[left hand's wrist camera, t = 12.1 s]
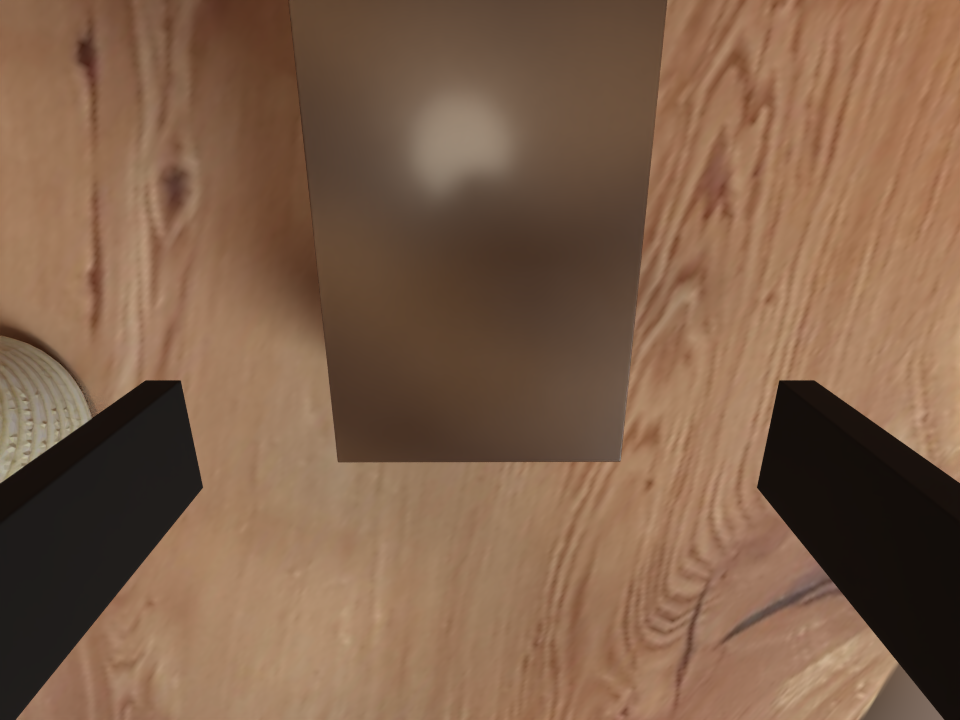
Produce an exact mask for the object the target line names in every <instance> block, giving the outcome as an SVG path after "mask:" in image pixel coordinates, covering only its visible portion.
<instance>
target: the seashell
mask: <svg viewBox="0 0 960 720" xmlns="http://www.w3.org/2000/svg"><path fill="white" fill-rule="evenodd" d="M90 419H92V417H91V413H90V409H89V406H88V404H87V402H86V399H85V396H84V395H83V393H82V391H81V390H80V388H79V387H78V385H77V383H76V381H75V380H74V379H73V378H72V376H71V375H70V374H69V373H68V371H67V370H66V369H65V368H64V367H63V366H62V365H61V364H59V363H58V362H57V361H56V360H54V359H53V358H52V357H50V356H49V355H48V354H46V353H45V352H43V351H42V350H40V349H38V348H36V347H33V346H32V345H30V344H28V343H25V342H22V341H19V340H16V339H13V338H9V337H5V336H0V483H1V482H3V481H4V480H6V479H7V478H8V477H10V476H11V475H13V474H14V473H15V472H17V471H18V470H20V469H21V468H23V467H24V466H25V465H27V464H28V463H30V462H31V461H32V460H34V459H35V458H37V457H38V456H39V455H41V454H42V453H44V452H45V451H47V450H48V449H49V448H51V447H52V446H54V445H55V444H56V443H58V442H59V441H61V440H62V439H64V438H65V437H66V436H68V435H69V434H71V433H72V432H73V431H75V430H76V429H78V428H79V427H81V426H82V425H83V424H85V423H86V422H88V421H89V420H90Z"/></svg>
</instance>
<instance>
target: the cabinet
mask: <svg viewBox="0 0 960 720" xmlns="http://www.w3.org/2000/svg"><path fill="white" fill-rule="evenodd" d="M666 7H667V0H289V10H290V19H291V28H292V38H293V47H294V56H295V66H296V75H297V85H298V94H299V103H300V113H301V122H302V131H303V141H304V150H305V159H306V169H307V178H308V187H309V197H310V206H311V215H312V225H313V234H314V243H315V253H316V262H317V271H318V281H319V290H320V299H321V309H322V318H323V328H324V337H325V346H326V356H327V365H328V374H329V384H330V393H331V402H332V412H333V421H334V430H335V440H336V449H337V458H338V462H620V461H621V452H622V443H623V433H624V423H625V413H626V403H627V393H628V383H629V373H630V363H631V354H632V344H633V334H634V324H635V314H636V304H637V294H638V284H639V274H640V265H641V255H642V245H643V235H644V225H645V215H646V205H647V195H648V185H649V176H650V166H651V156H652V146H653V136H654V126H655V116H656V106H657V96H658V87H659V77H660V67H661V57H662V47H663V37H664V27H665V17H666Z"/></svg>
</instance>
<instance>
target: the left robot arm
mask: <svg viewBox="0 0 960 720" xmlns="http://www.w3.org/2000/svg"><path fill="white" fill-rule="evenodd" d="M202 488H203V485H202V481H201V476H200V471H199V466H198V461H197V457H196V452H195V447H194V442H193V437H192V433H191V428H190V423H189V418H188V413H187V409H186V404H185V399H184V394H183V389H182V385H181V381H144V382H143V383H141V384H140V385H139V386H137V387H136V388H134V389H133V390H132V391H130V392H129V393H127V394H126V395H124V396H123V397H122V398H120V399H119V400H117V401H116V402H115V403H113V404H112V405H110V406H109V407H107V408H106V409H105V410H103V411H102V412H100V413H99V414H98V415H96V416H95V417H93V418H92V419H90V420H89V421H88V422H86V423H85V424H83V425H82V426H81V427H79V428H78V429H76V430H75V431H73V432H72V433H71V434H69V435H68V436H66V437H65V438H64V439H62V440H61V441H59V442H58V443H56V444H55V445H54V446H52V447H51V448H49V449H48V450H47V451H45V452H44V453H42V454H41V455H39V456H38V457H37V458H35V459H34V460H32V461H31V462H30V463H28V464H27V465H25V466H24V467H23V468H21V469H20V470H18V471H17V472H15V473H14V474H13V475H11V476H10V477H8V478H7V479H6V480H4V481H3V482H1V483H0V720H16V719H17V717H18V716H19V715H20V714H21V712H22V711H23V710H24V709H25V707H26V706H27V705H28V704H29V702H30V701H31V700H32V699H33V698H34V696H35V695H36V694H37V693H38V691H39V690H40V689H41V688H42V686H43V685H44V684H45V683H46V681H47V680H48V679H49V678H50V676H51V675H52V674H53V673H54V672H55V670H56V669H57V668H58V667H59V665H60V664H61V663H62V662H63V660H64V659H65V658H66V657H67V655H68V654H69V653H70V652H71V650H72V649H73V648H74V647H75V645H76V644H77V643H78V642H79V641H80V639H81V638H82V637H83V636H84V634H85V633H86V632H87V631H88V629H89V628H90V627H91V626H92V624H93V623H94V622H95V621H96V619H97V618H98V617H99V616H100V615H101V613H102V612H103V611H104V610H105V608H106V607H107V606H108V605H109V603H110V602H111V601H112V600H113V598H114V597H115V596H116V595H117V593H118V592H119V591H120V590H121V589H122V587H123V586H124V585H125V584H126V582H127V581H128V580H129V579H130V577H131V576H132V575H133V574H134V572H135V571H136V570H137V569H138V567H139V566H140V565H141V564H142V562H143V561H144V560H145V559H146V558H147V556H148V555H149V554H150V553H151V551H152V550H153V549H154V548H155V546H156V545H157V544H158V543H159V541H160V540H161V539H162V538H163V536H164V535H165V534H166V533H167V532H168V530H169V529H170V528H171V527H172V525H173V524H174V523H175V522H176V520H177V519H178V518H179V517H180V515H181V514H182V513H183V512H184V510H185V509H186V508H187V507H188V506H189V504H190V503H191V502H192V501H193V499H194V498H195V497H196V496H197V494H198V493H199V492H200V491H201V489H202ZM757 488H758V489H759V491H760V492H761V493H762V494H763V496H764V497H765V498H766V499H767V501H768V502H769V503H770V504H771V506H772V507H773V508H774V509H775V510H776V512H777V513H778V514H779V515H780V517H781V518H782V519H783V520H784V522H785V523H786V524H787V525H788V527H789V528H790V529H791V530H792V532H793V533H794V534H795V535H796V536H797V538H798V539H799V540H800V541H801V543H802V544H803V545H804V546H805V548H806V549H807V550H808V551H809V553H810V554H811V555H812V556H813V558H814V559H815V560H816V561H817V562H818V564H819V565H820V566H821V567H822V569H823V570H824V571H825V572H826V574H827V575H828V576H829V577H830V579H831V580H832V581H833V582H834V584H835V585H836V586H837V587H838V589H839V590H840V591H841V592H842V593H843V595H844V596H845V597H846V598H847V600H848V601H849V602H850V603H851V605H852V606H853V607H854V608H855V610H856V611H857V612H858V613H859V615H860V616H861V617H862V618H863V619H864V621H865V622H866V623H867V624H868V626H869V627H870V628H871V629H872V631H873V632H874V633H875V634H876V636H877V637H878V638H879V639H880V641H881V642H882V643H883V644H884V645H885V647H886V648H887V649H888V650H889V652H890V653H891V654H892V655H893V657H894V658H895V659H896V660H897V662H898V663H899V664H900V665H901V667H902V668H903V669H904V670H905V671H906V673H907V674H908V675H909V676H910V678H911V679H912V680H913V681H914V683H915V684H916V685H917V686H918V688H919V689H920V690H921V691H922V693H923V694H924V695H925V696H926V697H927V699H928V700H929V701H930V702H931V704H932V705H933V706H934V707H935V709H936V710H937V711H938V712H939V714H940V715H941V716H942V717H943V719H944V720H960V483H959V482H957V481H956V480H954V479H953V478H952V477H950V476H949V475H947V474H946V473H945V472H943V471H942V470H940V469H939V468H937V467H936V466H935V465H933V464H932V463H930V462H929V461H928V460H926V459H925V458H923V457H922V456H921V455H919V454H918V453H916V452H915V451H913V450H912V449H911V448H909V447H908V446H906V445H905V444H904V443H902V442H901V441H899V440H898V439H896V438H895V437H894V436H892V435H891V434H889V433H888V432H887V431H885V430H884V429H882V428H881V427H879V426H878V425H877V424H875V423H874V422H872V421H871V420H870V419H868V418H867V417H865V416H864V415H862V414H861V413H860V412H858V411H857V410H855V409H854V408H853V407H851V406H850V405H848V404H847V403H845V402H844V401H843V400H841V399H840V398H838V397H837V396H836V395H834V394H833V393H831V392H830V391H828V390H827V389H826V388H824V387H823V386H821V385H820V384H819V383H817V382H816V381H779V385H778V389H777V394H776V399H775V404H774V409H773V413H772V418H771V423H770V428H769V433H768V437H767V442H766V447H765V452H764V457H763V461H762V466H761V471H760V476H759V481H758V485H757Z"/></svg>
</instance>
